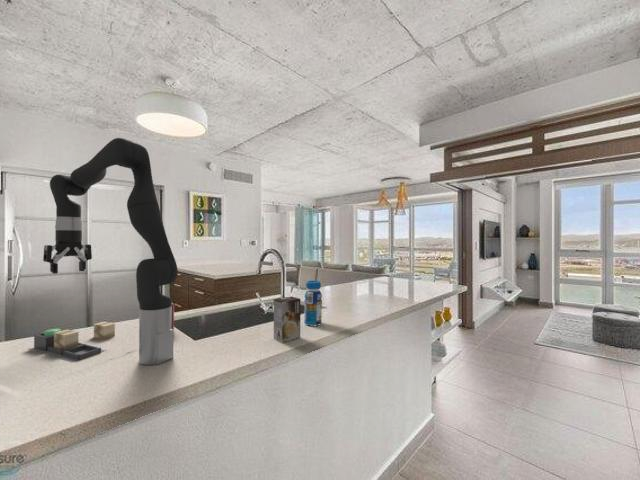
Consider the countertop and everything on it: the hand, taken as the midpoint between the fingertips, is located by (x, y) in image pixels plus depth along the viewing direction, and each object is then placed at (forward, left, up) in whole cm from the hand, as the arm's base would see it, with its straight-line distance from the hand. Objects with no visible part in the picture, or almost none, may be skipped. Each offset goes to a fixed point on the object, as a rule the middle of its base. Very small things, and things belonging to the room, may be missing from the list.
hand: (68, 272), depth 109 cm
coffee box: (-73, -37, -26) cm, 86 cm away
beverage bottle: (-75, -59, -26) cm, 99 cm away
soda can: (-23, -22, -26) cm, 42 cm away
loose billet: (-9, -7, -26) cm, 29 cm away
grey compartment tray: (-12, +7, -26) cm, 30 cm away
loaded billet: (-11, +7, -25) cm, 28 cm away
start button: (-3, +7, -23) cm, 24 cm away
